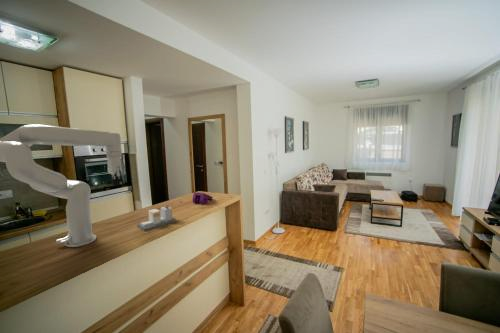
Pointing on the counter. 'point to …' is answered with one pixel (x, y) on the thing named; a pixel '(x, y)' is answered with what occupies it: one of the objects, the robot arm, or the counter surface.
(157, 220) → the rail module
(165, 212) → the mounting board
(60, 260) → the counter surface
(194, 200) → the purple rounded lump
